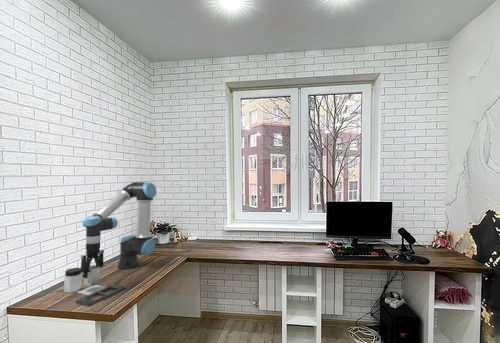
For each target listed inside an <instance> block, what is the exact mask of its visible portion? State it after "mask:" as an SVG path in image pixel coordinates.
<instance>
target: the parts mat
mask: <svg viewBox="0 0 500 343" xmlns="http://www.w3.org/2000/svg"><path fill="white" fill-rule="evenodd" d="M106 287H107V286H103V285H99V284H97V285H95V286H92V287H89V286H87V287H86V288H83V289H82V290H81V289H80V290H79V291H76V294H81V295H84V296H88V295H90V294H93V293H95V292H97V291H100V290H102V289H104V288H106Z"/></svg>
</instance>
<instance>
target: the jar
mask: <svg viewBox="0 0 500 343" xmlns="http://www.w3.org/2000/svg"><path fill="white" fill-rule="evenodd" d="M64 274H65V275H64V282H63V283H64V284H63V293H69V294H71V293H75V292H76V293H77V292H78V291H81V289H82V288H83V287H82V286H83V272H81V267H72V268H67V269H66V270H65V273H64Z"/></svg>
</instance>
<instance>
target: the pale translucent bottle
mask: <svg viewBox="0 0 500 343" xmlns="http://www.w3.org/2000/svg"><path fill="white" fill-rule="evenodd" d="M88 272H89V283H88V284H87V283H85V278H84V277H83V286H85V287H92V286H95V285H99V284H100V283H101V268H100V267H99V266H96V264H95V265H93V264H92V265H90V267H89V270H88Z"/></svg>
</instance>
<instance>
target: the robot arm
mask: <svg viewBox="0 0 500 343" xmlns="http://www.w3.org/2000/svg"><path fill="white" fill-rule="evenodd" d="M156 196H157V188H156V185H155V184H154V183H152V182H148V181H147V182H145V181H135V182H131V183H129V184H127V185H126V186H125V187H123V188H121V189H120V190H119V192H118V194H117V195H115V196H114V197H113V198H112V199H111V200H109V201H108V202H107V203H106V204H105V205H103V206H102V207H101V208H99V210H97V211H96V212H95V213H94V214H92V215H91V216H85V217H84V218H83V220H82V226H83V227H84V228H86V229H85V231H86V233H85V234H86V235H85V243H86V244H85V251H86V252H85V254H82V255H80V258H81V262H80V268H81V273H82V274H83V279H84V278H85V283H87V284H88V283H89V272H88V270H89V267H90V266H91V263H92V261H93V260H94V263H95V265H96V266H99V267H100V269H102V268H103V267H104V254H105V250H104V249H103V250H102V249H101V234H102V232H104V231H109V230H114V229H116V228H117V227H118V223H119V222H118V219H117V218H116V217H112V216H111V215H112V214H113V213H114V212H115V211H116V210H118V209H119V208H120V207H121V206H122V205H124V204H125V202H127V201H130V200H131V199H133V198H136V201H137V202H138V207H137V208H138V213H137V234H130V235H125V236H122V237H121V239H120V245H119V246H120V256H119V259H118V262H117V269H119V270H130V269H134V268H137V267H139V266H140V261H139V257H138V255H142V256H143V255H146V256H147V255H150V254H151V253H152V252H153V251H154V250H155V249H154V248H155V246H156V241H155V239H153V237H152V234H151V233H150V232H151V205H152V204H151V203H152V202H153V201H154V198H156ZM110 216H111V217H110Z"/></svg>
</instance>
